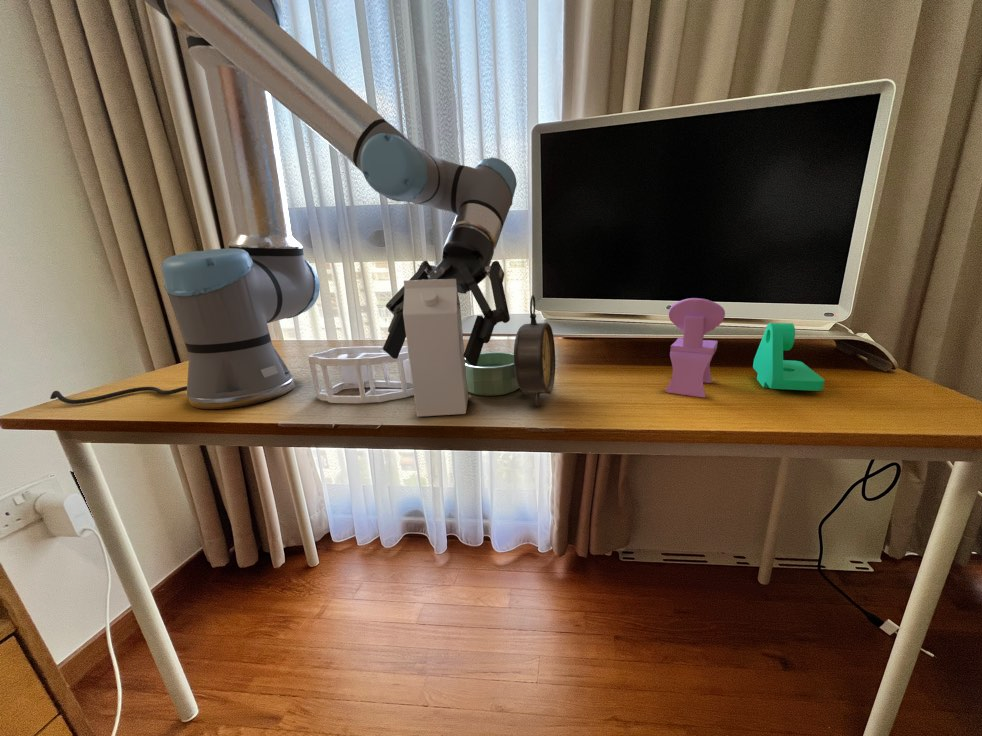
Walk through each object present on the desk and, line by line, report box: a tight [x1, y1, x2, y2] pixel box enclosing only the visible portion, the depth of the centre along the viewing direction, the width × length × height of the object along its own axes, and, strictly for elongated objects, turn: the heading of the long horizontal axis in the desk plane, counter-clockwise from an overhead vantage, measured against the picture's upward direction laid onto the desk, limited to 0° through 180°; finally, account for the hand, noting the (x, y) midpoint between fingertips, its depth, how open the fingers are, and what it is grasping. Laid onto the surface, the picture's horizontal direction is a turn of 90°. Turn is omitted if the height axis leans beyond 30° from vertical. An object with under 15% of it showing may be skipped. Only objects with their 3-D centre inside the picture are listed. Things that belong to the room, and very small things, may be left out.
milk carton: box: [403, 279, 469, 417], centre depth 63 cm, size 7×7×19 cm
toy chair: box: [665, 297, 726, 398], centre depth 70 cm, size 8×9×15 cm
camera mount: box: [752, 322, 826, 392], centre depth 71 cm, size 12×8×10 cm, turn 168°
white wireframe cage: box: [308, 345, 414, 404], centre depth 72 cm, size 20×11×7 cm, turn 85°
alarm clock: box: [513, 294, 556, 408], centre depth 66 cm, size 11×5×16 cm, turn 168°
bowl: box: [465, 351, 520, 397], centre depth 74 cm, size 10×10×5 cm
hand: (428, 357), depth 61 cm, fingers open, 13 cm apart
